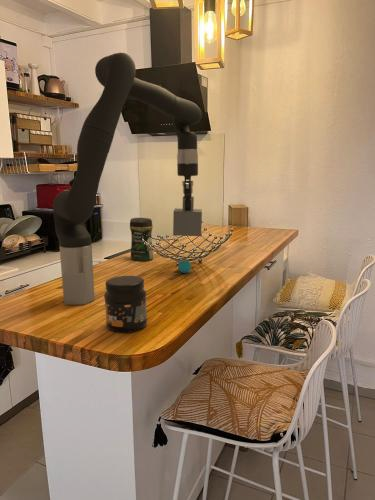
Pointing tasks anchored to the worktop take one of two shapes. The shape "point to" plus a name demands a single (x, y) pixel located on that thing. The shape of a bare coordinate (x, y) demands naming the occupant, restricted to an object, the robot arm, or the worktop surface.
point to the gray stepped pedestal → (187, 221)
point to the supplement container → (125, 303)
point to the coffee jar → (137, 245)
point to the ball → (184, 266)
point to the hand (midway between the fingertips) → (188, 209)
